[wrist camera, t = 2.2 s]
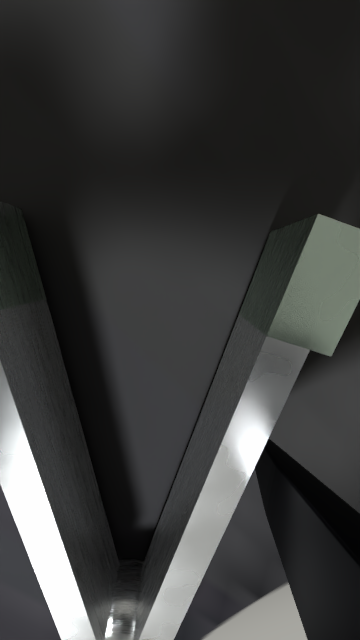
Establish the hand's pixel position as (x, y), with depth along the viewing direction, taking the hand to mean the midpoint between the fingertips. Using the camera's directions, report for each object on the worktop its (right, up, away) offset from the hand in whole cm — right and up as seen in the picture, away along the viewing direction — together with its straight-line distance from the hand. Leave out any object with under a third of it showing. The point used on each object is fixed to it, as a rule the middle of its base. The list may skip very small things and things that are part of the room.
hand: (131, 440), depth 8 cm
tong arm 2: (+3, 0, +1) cm, 3 cm away
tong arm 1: (-3, 0, +1) cm, 3 cm away
